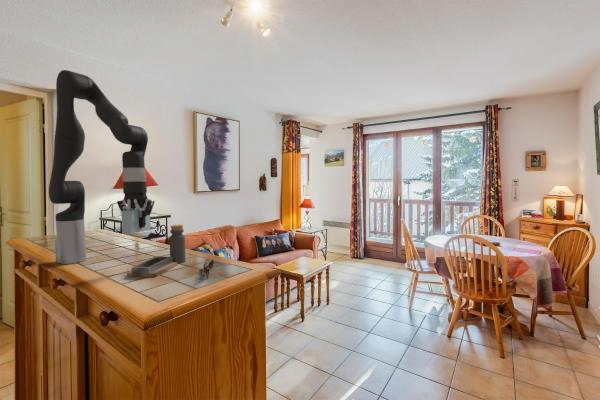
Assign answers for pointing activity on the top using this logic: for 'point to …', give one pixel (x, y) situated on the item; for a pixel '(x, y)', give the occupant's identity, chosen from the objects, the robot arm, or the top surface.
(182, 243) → the bottle
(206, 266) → the figurine
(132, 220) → the door
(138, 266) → the grey piece
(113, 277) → the top surface
